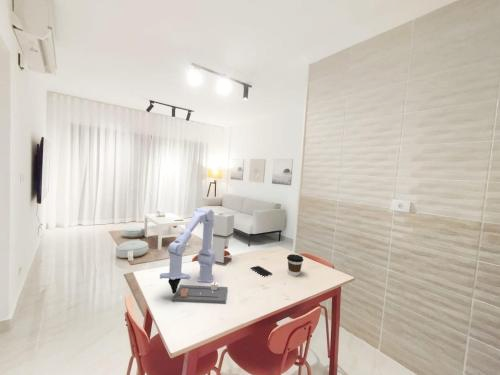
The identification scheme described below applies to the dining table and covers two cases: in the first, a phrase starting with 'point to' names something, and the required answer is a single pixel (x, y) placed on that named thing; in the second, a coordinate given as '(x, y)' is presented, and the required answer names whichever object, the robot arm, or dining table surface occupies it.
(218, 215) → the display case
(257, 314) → the dining table surface
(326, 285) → the dining table surface
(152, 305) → the dining table surface
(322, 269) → the dining table surface
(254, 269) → the phone
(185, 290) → the fader terracotta
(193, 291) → the console
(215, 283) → the fader white
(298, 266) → the coffee cup
